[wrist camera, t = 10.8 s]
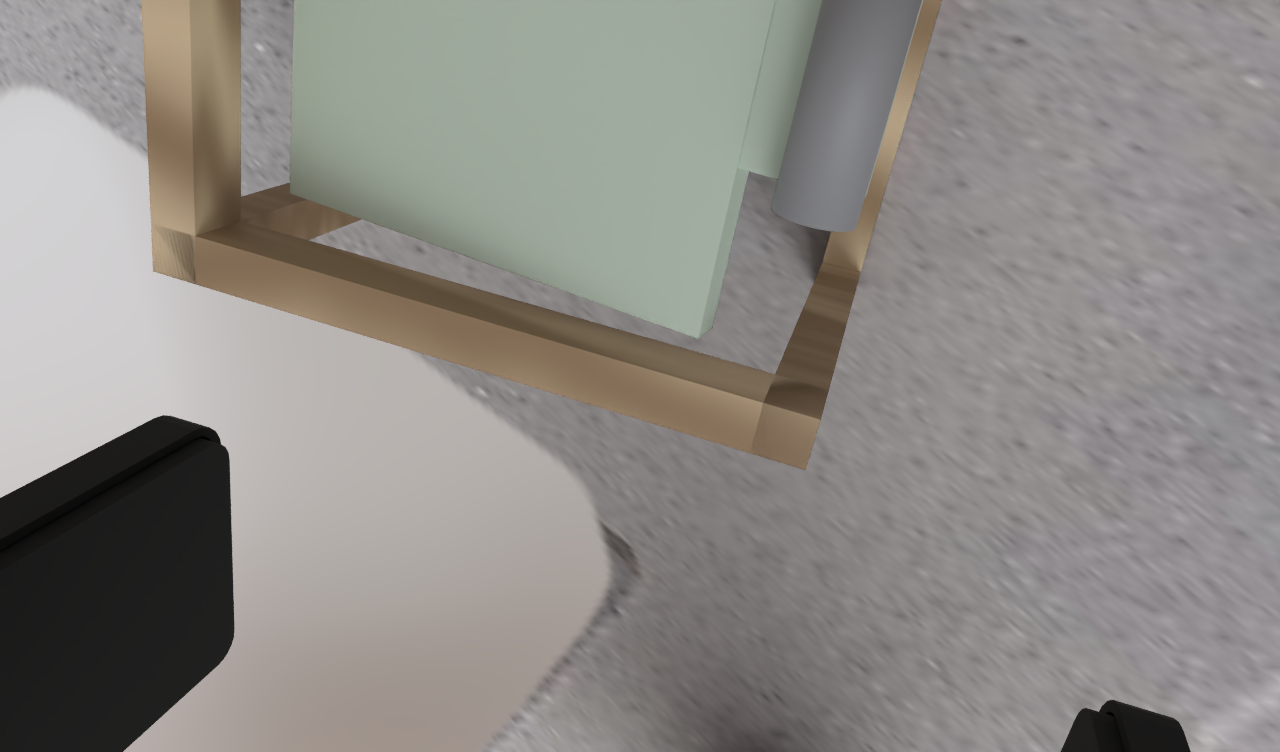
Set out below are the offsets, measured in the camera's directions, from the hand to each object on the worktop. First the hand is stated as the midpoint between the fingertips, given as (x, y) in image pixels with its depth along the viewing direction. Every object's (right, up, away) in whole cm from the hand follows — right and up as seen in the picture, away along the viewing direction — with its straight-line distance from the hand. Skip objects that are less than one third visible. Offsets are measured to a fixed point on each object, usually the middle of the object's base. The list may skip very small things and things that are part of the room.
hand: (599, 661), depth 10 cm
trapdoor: (-1, +13, +14) cm, 19 cm away
